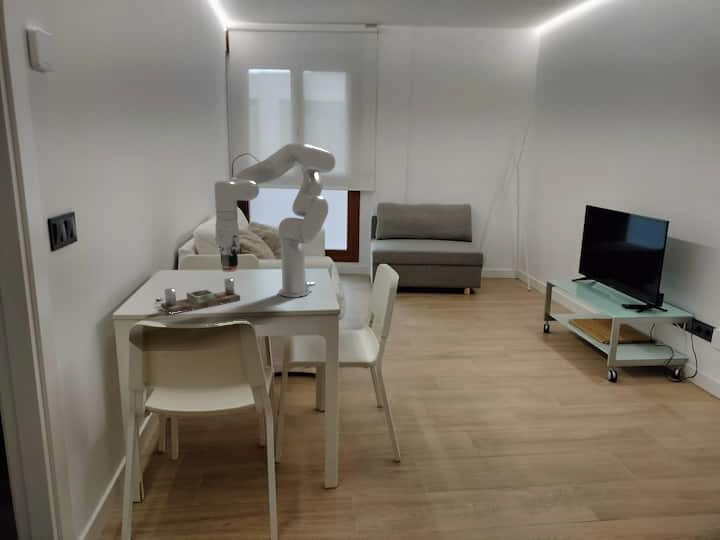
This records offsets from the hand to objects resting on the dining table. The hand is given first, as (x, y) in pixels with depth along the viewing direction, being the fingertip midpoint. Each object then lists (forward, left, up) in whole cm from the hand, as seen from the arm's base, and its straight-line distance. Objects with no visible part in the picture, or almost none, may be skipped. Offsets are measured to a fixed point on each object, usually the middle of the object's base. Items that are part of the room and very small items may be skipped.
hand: (229, 264), depth 196 cm
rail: (+6, -13, -17) cm, 22 cm away
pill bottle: (0, 0, -3) cm, 3 cm away
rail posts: (+6, -13, -15) cm, 21 cm away
